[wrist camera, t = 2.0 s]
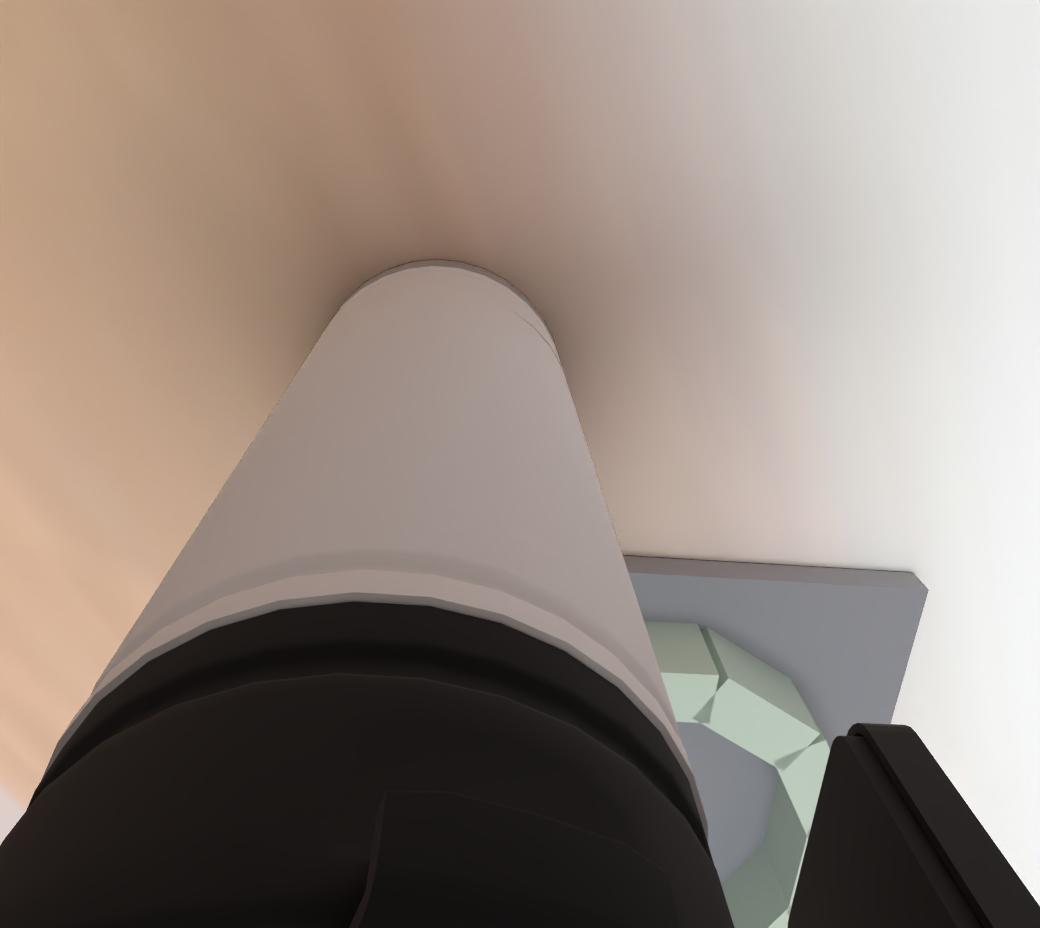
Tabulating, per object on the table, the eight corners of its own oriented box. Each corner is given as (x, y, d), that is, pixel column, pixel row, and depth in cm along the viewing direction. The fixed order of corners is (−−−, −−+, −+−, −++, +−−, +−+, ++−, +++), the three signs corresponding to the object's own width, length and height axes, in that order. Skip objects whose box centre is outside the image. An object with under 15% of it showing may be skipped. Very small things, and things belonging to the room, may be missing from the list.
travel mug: (603, 300, 23) (1085, 1064, 5) (505, 519, 26) (586, 1625, 7) (369, 204, 22) (-144, 730, 4) (288, 441, 25) (-294, 1516, 6)
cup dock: (360, 540, 26) (343, 604, 22) (912, 572, 27) (973, 638, 24) (348, 958, 32) (334, 1058, 28) (803, 970, 33) (839, 1066, 29)
